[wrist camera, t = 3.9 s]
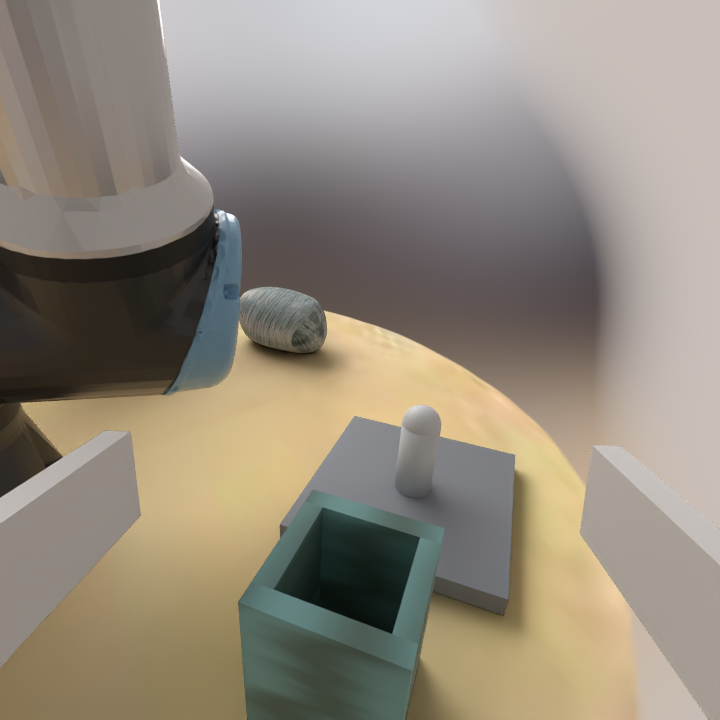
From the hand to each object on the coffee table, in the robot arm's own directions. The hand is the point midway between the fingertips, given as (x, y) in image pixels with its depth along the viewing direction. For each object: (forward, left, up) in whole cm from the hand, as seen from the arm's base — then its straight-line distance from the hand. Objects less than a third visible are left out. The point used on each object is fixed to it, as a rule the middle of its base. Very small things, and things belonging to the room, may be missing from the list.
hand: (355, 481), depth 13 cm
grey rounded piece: (-26, +44, -18) cm, 54 cm away
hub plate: (-1, +20, -18) cm, 27 cm away
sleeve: (-1, +4, -18) cm, 18 cm away
